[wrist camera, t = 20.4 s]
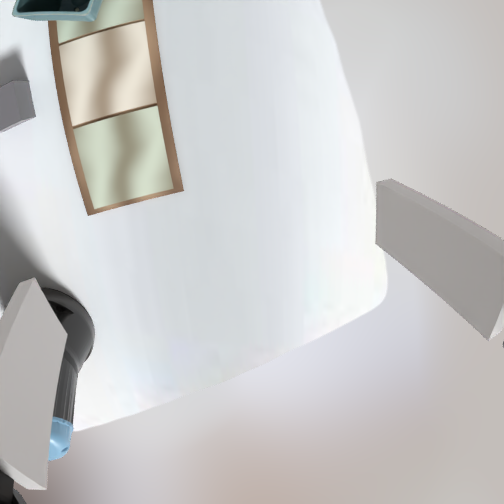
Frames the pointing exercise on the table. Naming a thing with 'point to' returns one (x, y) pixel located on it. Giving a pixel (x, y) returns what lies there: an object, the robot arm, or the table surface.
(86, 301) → the table surface
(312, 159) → the table surface
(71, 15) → the flower pot
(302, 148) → the table surface
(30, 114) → the gray block
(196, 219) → the table surface
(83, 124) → the board
